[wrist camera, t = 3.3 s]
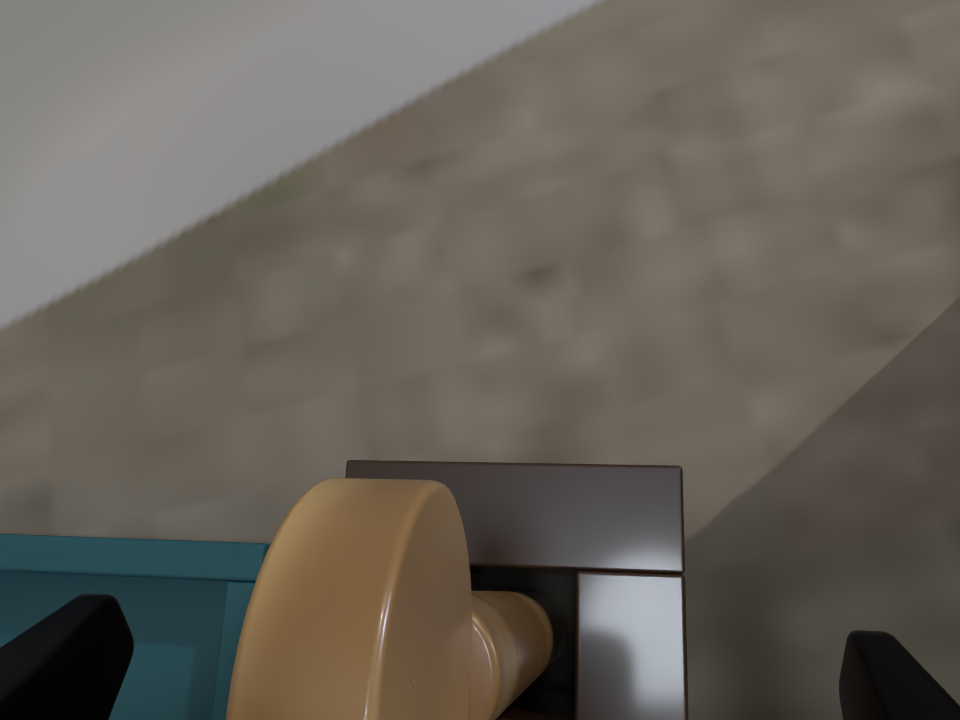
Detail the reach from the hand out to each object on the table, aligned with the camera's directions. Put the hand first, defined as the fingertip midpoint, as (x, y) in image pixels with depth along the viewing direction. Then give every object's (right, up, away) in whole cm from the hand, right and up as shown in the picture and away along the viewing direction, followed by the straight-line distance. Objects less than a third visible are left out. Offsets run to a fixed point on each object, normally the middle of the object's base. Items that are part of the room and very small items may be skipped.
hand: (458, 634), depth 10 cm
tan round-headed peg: (+1, -3, +8) cm, 9 cm away
